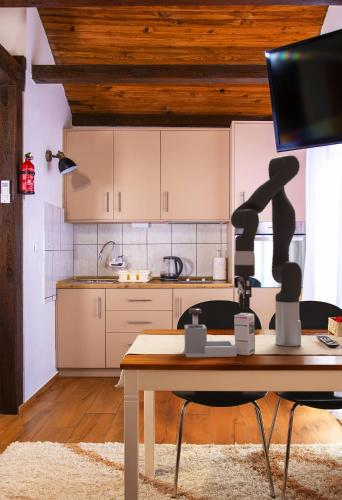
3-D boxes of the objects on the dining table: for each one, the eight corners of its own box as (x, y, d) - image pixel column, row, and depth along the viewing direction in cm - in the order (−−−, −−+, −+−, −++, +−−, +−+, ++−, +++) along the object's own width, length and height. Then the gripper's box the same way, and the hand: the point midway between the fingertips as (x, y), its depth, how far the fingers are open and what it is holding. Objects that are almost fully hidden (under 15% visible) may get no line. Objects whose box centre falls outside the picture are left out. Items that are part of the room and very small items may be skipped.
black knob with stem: (200, 330, 177) (200, 308, 177) (201, 333, 173) (201, 310, 173) (188, 331, 177) (188, 308, 177) (189, 333, 173) (189, 310, 173)
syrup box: (249, 355, 171) (249, 315, 171) (234, 353, 174) (234, 314, 174) (255, 352, 176) (255, 313, 176) (240, 350, 179) (240, 312, 179)
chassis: (231, 349, 181) (231, 323, 181) (236, 356, 170) (236, 328, 170) (184, 350, 180) (184, 324, 180) (186, 357, 169) (186, 329, 169)
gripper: (258, 264, 168) (258, 310, 168) (250, 262, 182) (250, 305, 182) (237, 264, 168) (237, 310, 168) (231, 262, 182) (230, 305, 182)
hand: (244, 307), depth 175 cm, fingers open, 8 cm apart
